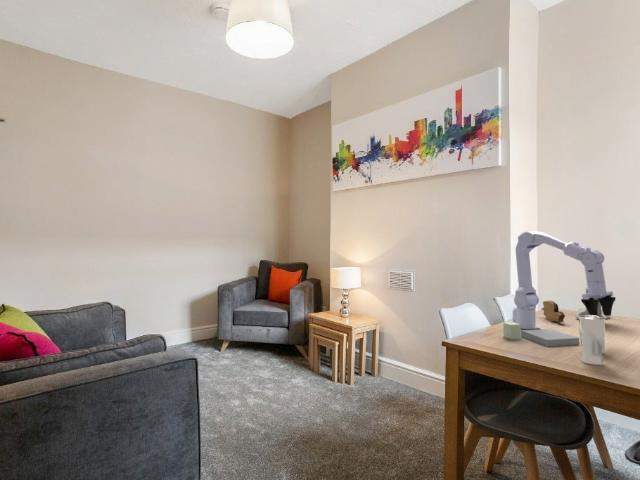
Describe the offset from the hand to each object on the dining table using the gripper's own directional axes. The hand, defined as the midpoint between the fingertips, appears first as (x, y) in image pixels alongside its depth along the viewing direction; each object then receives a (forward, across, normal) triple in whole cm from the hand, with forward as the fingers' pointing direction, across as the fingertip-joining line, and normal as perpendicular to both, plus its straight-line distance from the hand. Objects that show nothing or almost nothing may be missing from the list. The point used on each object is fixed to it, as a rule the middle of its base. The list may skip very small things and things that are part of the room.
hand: (600, 316), depth 141 cm
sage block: (+8, -25, +20) cm, 33 cm away
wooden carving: (+7, +17, +34) cm, 39 cm away
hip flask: (+8, +27, +23) cm, 37 cm away
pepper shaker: (+11, -13, -5) cm, 18 cm away
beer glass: (+12, -25, -12) cm, 30 cm away
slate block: (+9, -14, +12) cm, 21 cm away
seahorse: (+8, +40, +32) cm, 52 cm away
